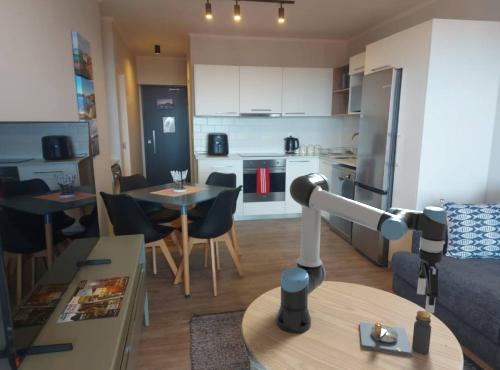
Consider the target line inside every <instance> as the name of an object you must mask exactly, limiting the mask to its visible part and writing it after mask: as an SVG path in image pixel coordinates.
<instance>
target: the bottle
mask: <svg viewBox="0 0 500 370" xmlns="http://www.w3.org/2000/svg"><path fill="white" fill-rule="evenodd" d="M431 315H432V314H431V313H428V312H425V310H418V311H416V316H415V321H414V322H413V332H412V333H413V334H412V342H411V344H412V345H411V350H413V351H414V352H415V353H417V354H420V355H428V354H429V353H430V345H431V337H432V336H431V335H432V334H431V333H432V325H431V322H432V320H431Z"/></svg>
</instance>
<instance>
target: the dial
mask: <svg viewBox="0 0 500 370" xmlns="http://www.w3.org/2000/svg"><path fill="white" fill-rule="evenodd" d="M374 324H375V326H373V327H372V328H371V335H372V337H373V338H374V339H376V340H378V341H380V342H383V343H389V344H390V343H395V342H396V341H397V339H398V334H397V332H396V331H395V330H394V329H392V328H390V327H388V326H389V325H385V326H384V324H381V323H378V322H376V323H374Z"/></svg>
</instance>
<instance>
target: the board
mask: <svg viewBox="0 0 500 370" xmlns="http://www.w3.org/2000/svg"><path fill="white" fill-rule="evenodd" d="M383 325H384V324H383ZM373 326H375V323H370V322H363V321H359V334H360V335H359V336H360V343H361V344H360V346H361V349H364V350H371V351H375V352H376V351H377V352H383V353H388V354H393V355H394V354H395V355H400V356H407V357H413V352H412V346H411V344H410V341H409V338H408V336H407V332H406V328H404V327H397V326H390V325H387V326H388V327H390V328H392V329H394V330H395V331H396V332H397V334H398V339H397V341H396V342H395V343H390V344H389V343H383V342H380V341H378V340H376V339H374V338H373V337H372V335H371V328H372V327H373ZM384 326H386V325H384Z"/></svg>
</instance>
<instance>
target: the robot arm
mask: <svg viewBox="0 0 500 370" xmlns="http://www.w3.org/2000/svg"><path fill="white" fill-rule="evenodd" d="M330 188H331V186H330V182H329V179H328V178H327V177H326V176H325V175H324V174H321V173H319V172H313V173H312V172H311V173H308V174H304V175H299V176H297V177H295V178H294V179H293V180H292V181H291V183H290V186H289V194H290V198H292V199H293V201H294V202H295V203H297V204H299V205H300V206H301V224H300V225H301V227H300V228H301V229H300V230H301V232H300V250H299V251H300V256H299V257H298V258H296V267H292V268H286V269H285V270H284V271H283V272H282V274H281V277H280V305H279V307H278V312H277V314H276V318H275V319H276V320H275V322H276V326H278V328H280V329H281V330H283V331H284V332H287V333H292V334H300V333H304V332H306V331H308V330H309V329H310V328H311V326H312V319H311V314H310V312H309V308H308V304H309V303H308V302H309V299H308V298H309V295H310V294H311V293H312V292H313V291H315V290H316V289H317V288H318V287H319V286H321V285H322V284H323V282H324V281H325V278H326V269H325V266H323V261H322V259H321V258H320V251H321V250H320V246H321V229H322V228H321V227H322V225H321V223H322V212H326V213H329V214H332V215H334V216H336V217H339V218H342V219H344V220H347V221H350V222H351V223H352V222H353V223H355V224H357V225H360V226H363V227H366V228H368V229H371V230H373V231H376V232H379V233H381V234H382V235H383V237H384V238H385V239H387V240H388V241H393V242H395V241H399V240H400V239H402V238H404V237H405V236H406V235H407V233H408V232H409V231H414V232H420V238H419V239H420V240H419V248H418V258H419V259H420V261H419V265H418V269H417V272H416V273H417V274H418V275H417V278H418V279H417V290H416V294H417V295H423V296H424V295H425V296H426V299H425V309H424V311H425V312H428V313H429V314H434V313H435V307H436V300H437V299H438V298H439V269H438V268H437V265H436V264H437V263H441V262H442V259H443V250H444V245H445V244H446V242H445V236H446V235H445V234H446V228H447V215H448V213H447V210H446V209H445V208H442V207H439V206H425V207H424V208H423V210H421V211H419V210H415V209H414V210H412V209H407V208H406V209H405V208H402V207H390V208H389V209H388V210H387V211H385V210H381V209H379V208H376V207H373V206H370V205H368V204H364V203H361V202H359V201H356V200H352V199H350V198H346V197H344V196H341V195H339V194H336V193H333V192H330V190H331V189H330ZM426 288H427V293H426ZM436 298H437V299H436Z"/></svg>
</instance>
